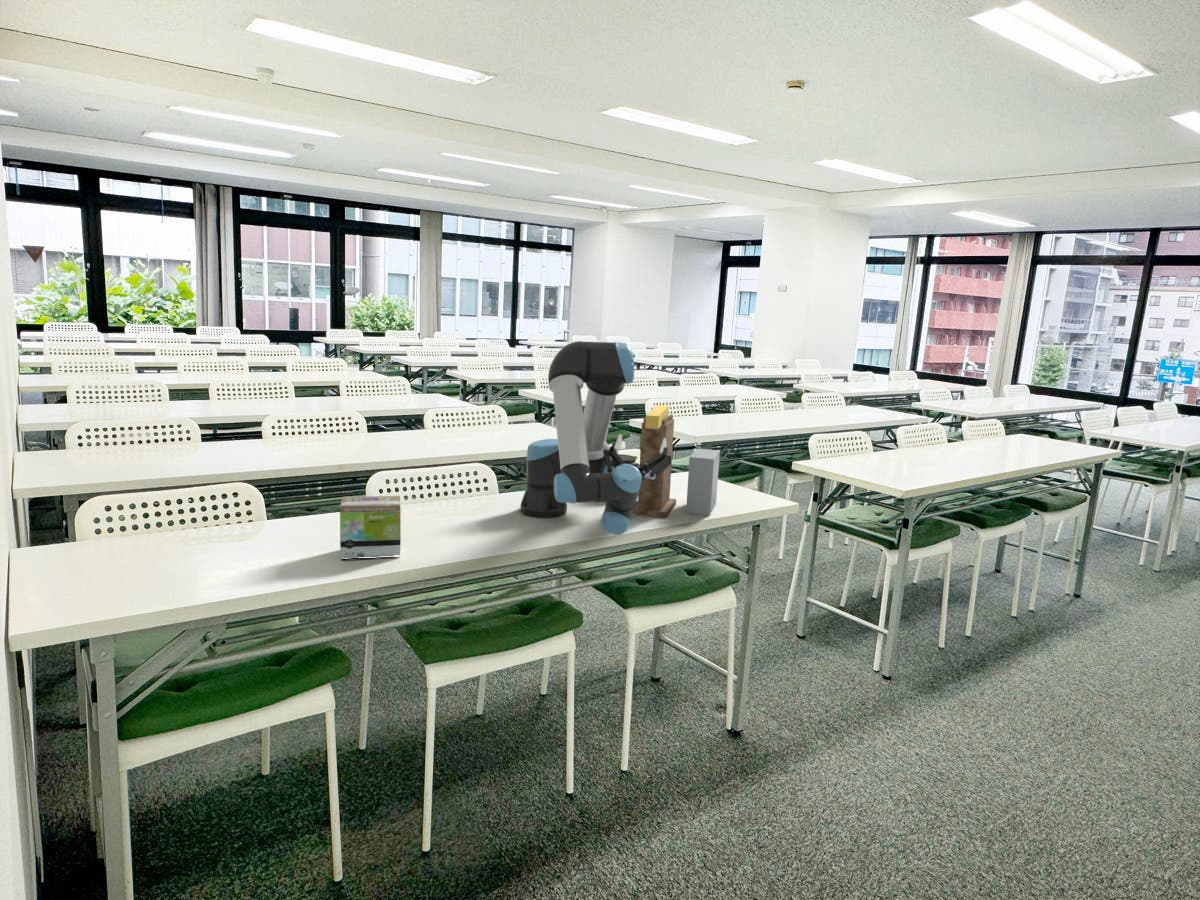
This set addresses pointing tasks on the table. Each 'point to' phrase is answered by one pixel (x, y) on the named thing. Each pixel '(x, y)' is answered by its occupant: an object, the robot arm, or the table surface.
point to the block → (656, 416)
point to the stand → (657, 493)
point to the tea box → (370, 526)
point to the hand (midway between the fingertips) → (642, 439)
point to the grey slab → (702, 481)
